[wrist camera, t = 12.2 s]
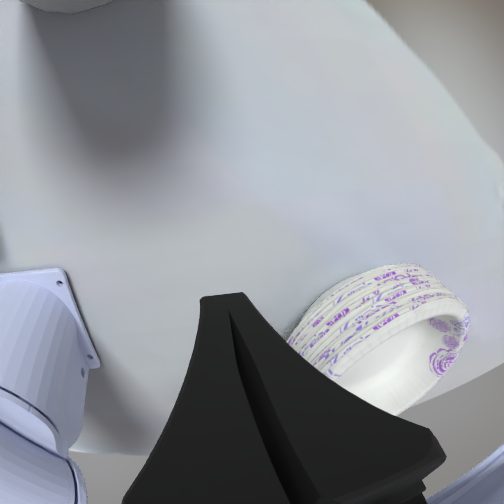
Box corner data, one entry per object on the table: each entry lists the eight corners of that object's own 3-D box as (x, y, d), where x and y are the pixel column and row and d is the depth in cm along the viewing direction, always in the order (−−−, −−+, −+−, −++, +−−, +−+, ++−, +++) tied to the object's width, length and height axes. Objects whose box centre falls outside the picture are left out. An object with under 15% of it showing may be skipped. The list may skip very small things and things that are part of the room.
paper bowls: (430, 308, 29) (474, 359, 22) (314, 391, 31) (342, 452, 24) (393, 200, 21) (469, 258, 14) (225, 325, 23) (249, 417, 16)
